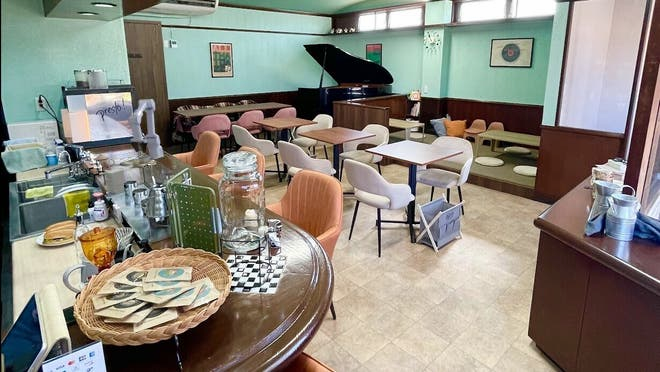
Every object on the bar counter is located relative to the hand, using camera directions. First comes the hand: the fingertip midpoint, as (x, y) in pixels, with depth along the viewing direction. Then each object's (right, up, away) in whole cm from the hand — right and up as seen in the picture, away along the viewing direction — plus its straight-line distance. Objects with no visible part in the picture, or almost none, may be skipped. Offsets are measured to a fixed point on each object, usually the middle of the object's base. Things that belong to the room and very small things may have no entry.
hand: (140, 152), depth 287 cm
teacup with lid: (-21, -13, -6) cm, 26 cm away
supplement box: (+13, -28, -55) cm, 63 cm away
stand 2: (+2, -9, +3) cm, 9 cm away
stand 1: (-11, -7, +9) cm, 16 cm away
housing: (+2, -7, +3) cm, 8 cm away
